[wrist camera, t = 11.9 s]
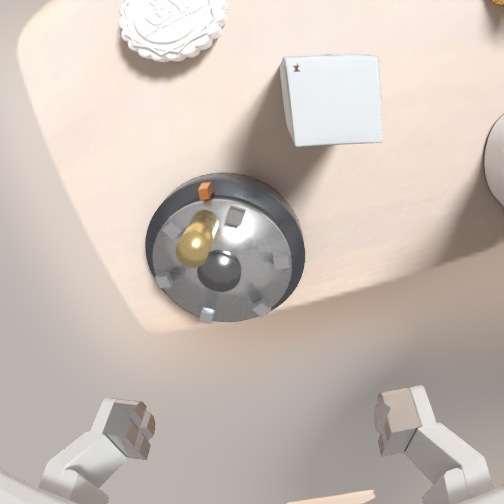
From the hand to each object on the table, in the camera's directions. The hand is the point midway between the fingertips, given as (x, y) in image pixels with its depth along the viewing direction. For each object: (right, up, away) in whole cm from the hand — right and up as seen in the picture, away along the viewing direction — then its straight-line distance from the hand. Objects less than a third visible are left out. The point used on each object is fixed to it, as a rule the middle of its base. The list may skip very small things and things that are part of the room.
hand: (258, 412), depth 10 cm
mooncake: (-9, +32, +19) cm, 38 cm away
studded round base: (-4, +4, +30) cm, 30 cm away
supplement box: (+7, +23, +23) cm, 33 cm away
